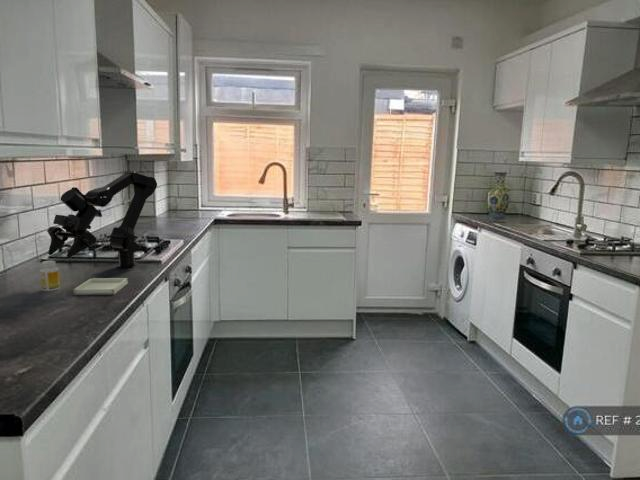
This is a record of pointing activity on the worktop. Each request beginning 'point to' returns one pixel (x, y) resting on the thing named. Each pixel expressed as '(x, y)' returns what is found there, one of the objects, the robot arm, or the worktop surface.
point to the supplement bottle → (49, 276)
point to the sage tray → (101, 286)
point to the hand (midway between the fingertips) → (58, 255)
